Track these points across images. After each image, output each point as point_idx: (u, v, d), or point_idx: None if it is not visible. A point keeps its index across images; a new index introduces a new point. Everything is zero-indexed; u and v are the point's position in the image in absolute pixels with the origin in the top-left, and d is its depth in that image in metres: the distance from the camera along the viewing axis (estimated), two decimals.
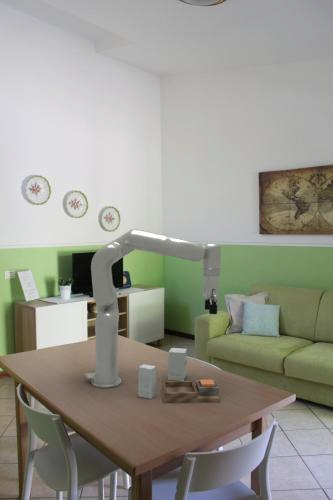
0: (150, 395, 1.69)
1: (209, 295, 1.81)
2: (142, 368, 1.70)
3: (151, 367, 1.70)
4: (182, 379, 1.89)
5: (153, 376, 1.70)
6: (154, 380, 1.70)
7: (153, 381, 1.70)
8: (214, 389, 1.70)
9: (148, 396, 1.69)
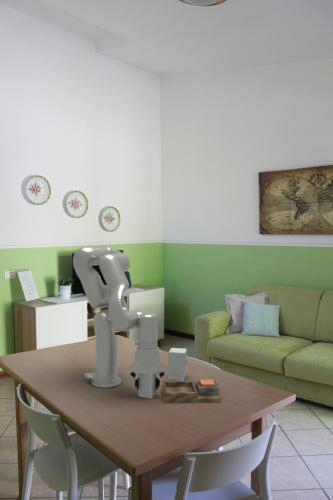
0: (150, 395, 1.69)
1: (160, 368, 1.70)
2: None
3: None
4: (182, 379, 1.89)
5: (153, 376, 1.70)
6: (154, 380, 1.70)
7: (153, 381, 1.70)
8: (214, 389, 1.70)
9: (148, 396, 1.69)
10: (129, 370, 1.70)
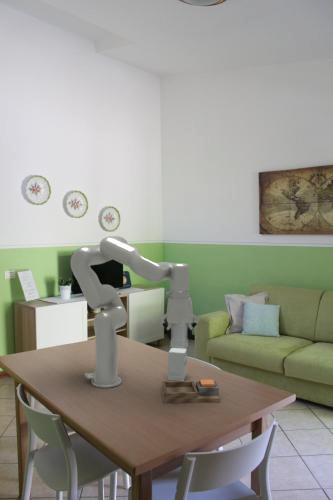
0: (183, 345, 1.69)
1: (192, 318, 1.70)
2: None
3: None
4: (182, 379, 1.89)
5: (186, 326, 1.70)
6: (186, 330, 1.70)
7: (185, 331, 1.70)
8: (214, 389, 1.70)
9: (181, 346, 1.69)
10: (161, 320, 1.70)
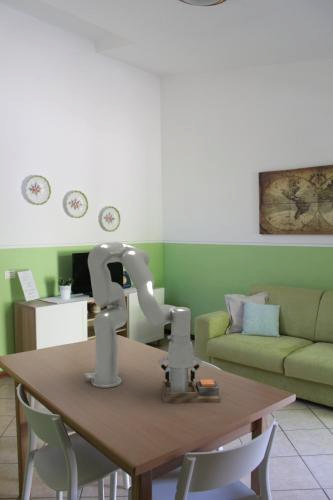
0: (183, 391, 1.70)
1: None
2: None
3: None
4: None
5: (186, 372, 1.71)
6: (186, 376, 1.71)
7: (185, 377, 1.71)
8: (214, 389, 1.70)
9: None
10: (160, 362, 1.71)
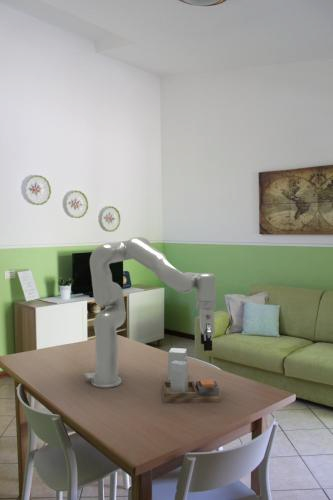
0: (183, 391, 1.70)
1: None
2: (174, 364, 1.71)
3: (183, 363, 1.71)
4: None
5: (186, 372, 1.71)
6: (186, 376, 1.71)
7: (185, 377, 1.71)
8: (214, 389, 1.70)
9: None
10: None
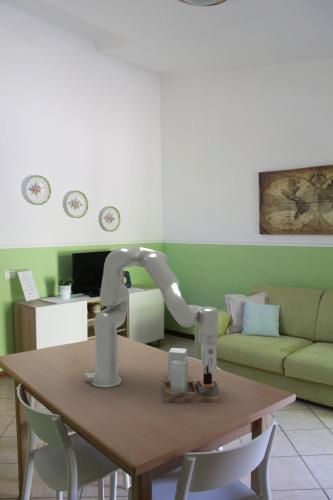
0: (183, 391, 1.70)
1: None
2: (174, 364, 1.71)
3: (183, 363, 1.71)
4: None
5: (186, 372, 1.71)
6: (186, 376, 1.71)
7: (185, 377, 1.71)
8: (214, 389, 1.70)
9: None
10: None
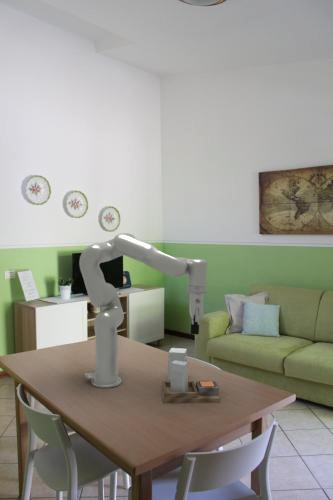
0: (183, 391, 1.70)
1: None
2: (174, 364, 1.71)
3: (183, 363, 1.71)
4: None
5: (186, 372, 1.71)
6: (186, 376, 1.71)
7: (185, 377, 1.71)
8: (214, 389, 1.70)
9: None
10: (198, 320, 1.73)
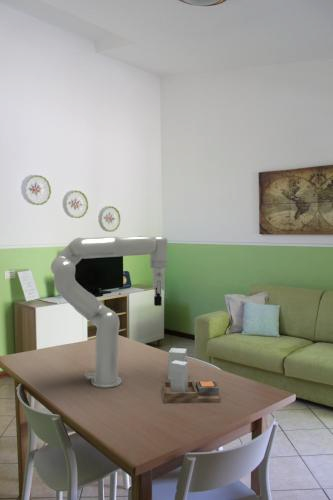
0: (183, 391, 1.70)
1: None
2: (174, 364, 1.71)
3: (183, 363, 1.71)
4: None
5: (186, 372, 1.71)
6: (186, 376, 1.71)
7: (185, 377, 1.71)
8: (214, 389, 1.70)
9: None
10: (159, 292, 1.89)
